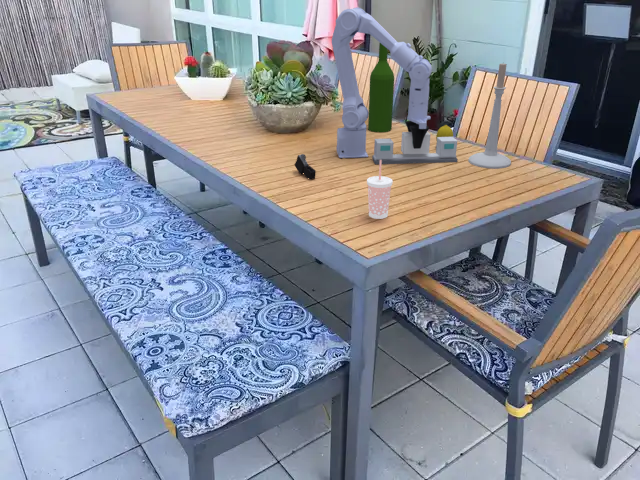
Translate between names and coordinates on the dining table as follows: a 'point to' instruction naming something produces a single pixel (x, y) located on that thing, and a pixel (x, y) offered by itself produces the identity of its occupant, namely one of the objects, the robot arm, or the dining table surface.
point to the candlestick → (493, 132)
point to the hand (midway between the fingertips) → (415, 146)
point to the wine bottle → (381, 94)
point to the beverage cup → (379, 195)
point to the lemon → (444, 132)
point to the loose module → (408, 144)
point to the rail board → (443, 154)
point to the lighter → (304, 167)
